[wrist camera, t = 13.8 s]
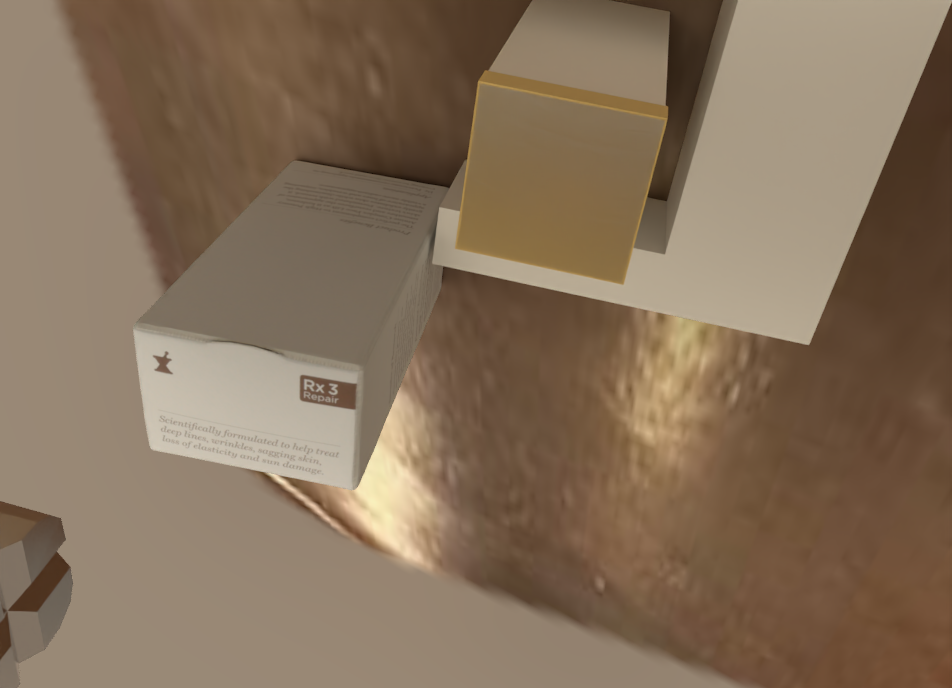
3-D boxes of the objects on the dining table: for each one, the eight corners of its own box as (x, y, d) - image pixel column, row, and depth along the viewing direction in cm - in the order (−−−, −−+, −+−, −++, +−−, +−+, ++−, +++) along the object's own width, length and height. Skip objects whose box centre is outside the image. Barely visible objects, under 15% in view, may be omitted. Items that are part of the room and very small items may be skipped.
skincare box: (294, 259, 35) (136, 461, 25) (292, 148, 32) (117, 323, 22) (451, 288, 34) (355, 508, 24) (462, 177, 32) (360, 370, 22)
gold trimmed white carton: (671, 10, 27) (667, 118, 19) (639, 138, 30) (623, 285, 21) (538, -15, 28) (478, 80, 19) (517, 114, 30) (454, 248, 22)
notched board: (975, -180, 23) (1022, -170, 20) (795, 283, 31) (809, 344, 28) (522, -256, 24) (497, -258, 21) (457, 211, 32) (432, 263, 29)
